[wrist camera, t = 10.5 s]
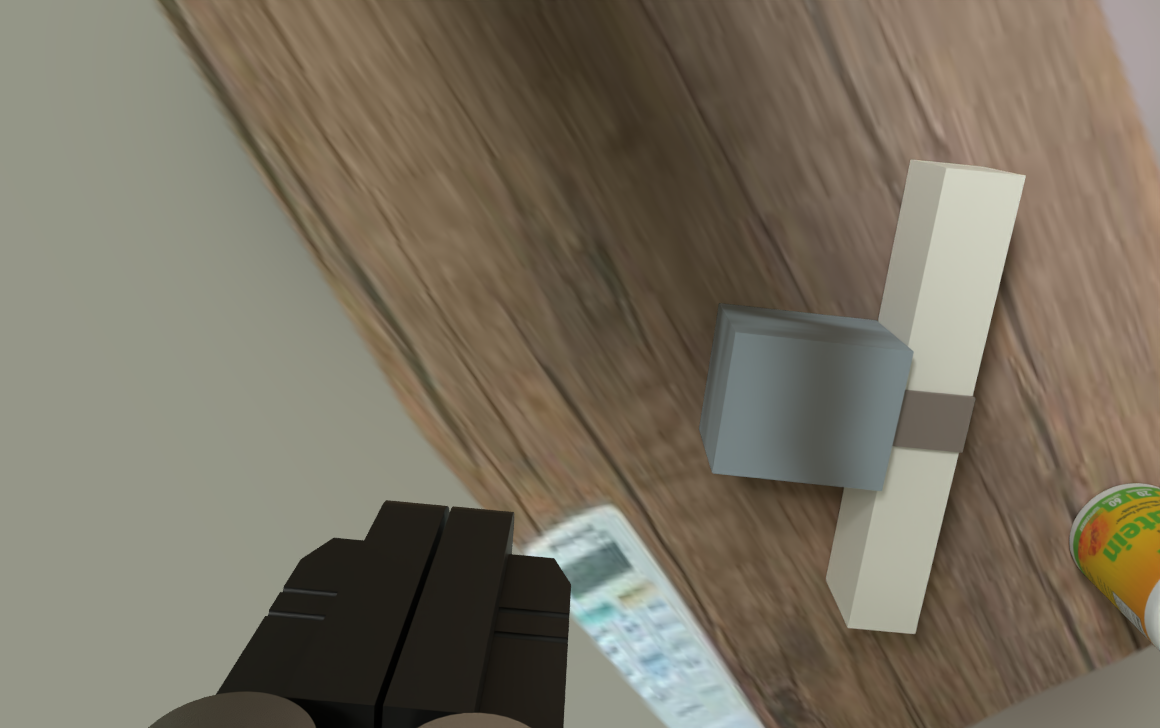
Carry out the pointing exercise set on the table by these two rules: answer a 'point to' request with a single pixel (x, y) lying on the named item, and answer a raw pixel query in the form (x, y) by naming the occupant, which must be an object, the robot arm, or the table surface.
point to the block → (802, 397)
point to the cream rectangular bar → (925, 385)
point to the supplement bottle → (1123, 551)
